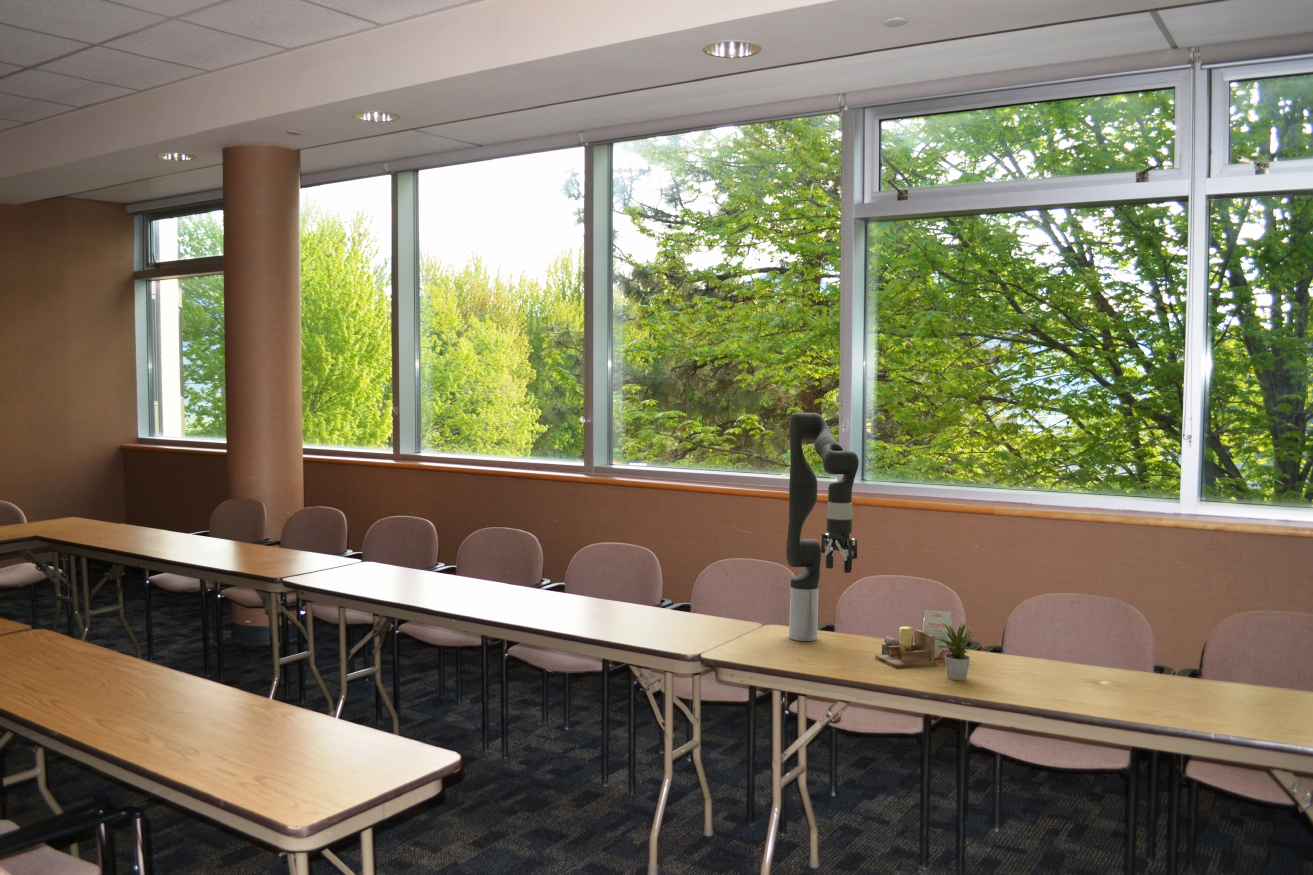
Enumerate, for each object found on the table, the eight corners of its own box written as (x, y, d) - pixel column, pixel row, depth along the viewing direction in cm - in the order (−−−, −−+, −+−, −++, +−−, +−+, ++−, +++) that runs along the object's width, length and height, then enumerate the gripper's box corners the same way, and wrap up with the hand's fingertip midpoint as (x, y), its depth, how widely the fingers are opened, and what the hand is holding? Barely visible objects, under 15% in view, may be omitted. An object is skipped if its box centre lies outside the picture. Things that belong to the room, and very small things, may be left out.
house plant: (936, 667, 291) (938, 613, 290) (984, 673, 284) (986, 618, 284) (925, 678, 278) (926, 622, 278) (975, 686, 272) (977, 628, 271)
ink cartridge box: (950, 655, 305) (951, 608, 304) (951, 659, 300) (952, 612, 300) (922, 653, 307) (923, 607, 306) (922, 657, 302) (923, 610, 302)
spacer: (896, 657, 298) (897, 626, 298) (907, 656, 299) (908, 625, 299) (903, 660, 294) (904, 629, 294) (915, 659, 295) (915, 628, 295)
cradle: (867, 654, 304) (868, 627, 304) (906, 651, 309) (907, 625, 309) (896, 668, 289) (897, 640, 288) (937, 665, 293) (937, 637, 293)
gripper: (864, 519, 289) (863, 573, 289) (834, 513, 301) (833, 565, 302) (844, 520, 285) (843, 575, 286) (815, 514, 298) (813, 567, 298)
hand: (838, 570), depth 294 cm, fingers open, 8 cm apart
